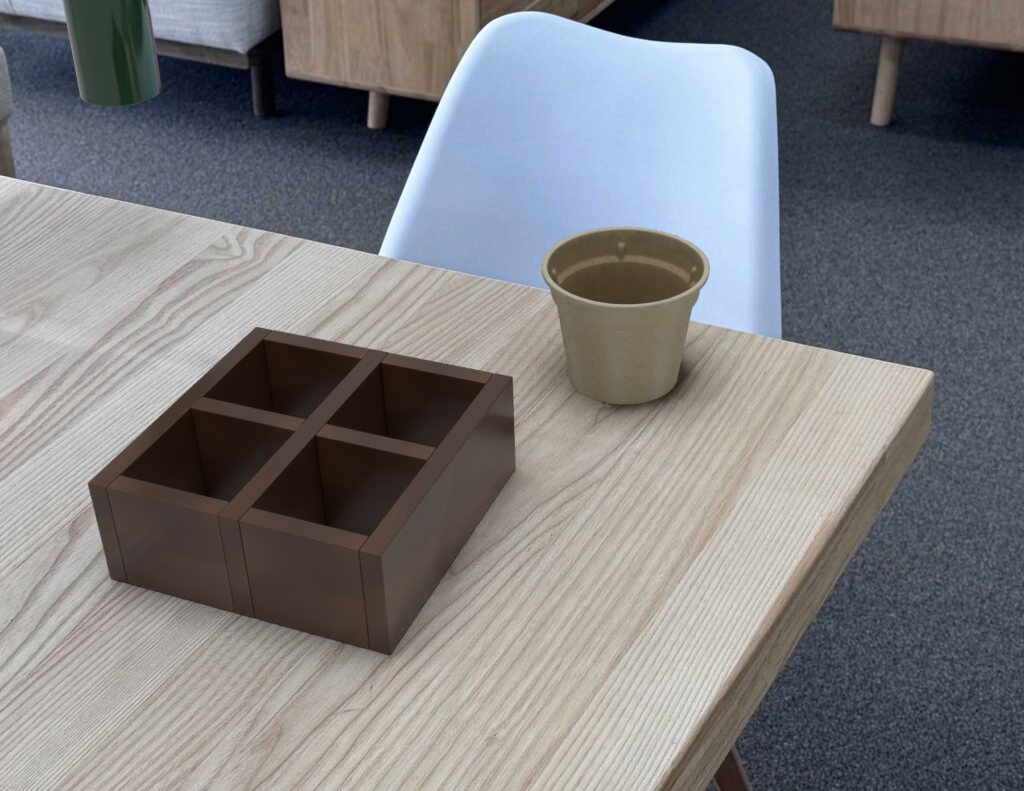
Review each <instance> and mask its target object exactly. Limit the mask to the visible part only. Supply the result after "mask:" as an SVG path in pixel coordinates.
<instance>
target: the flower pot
mask: <svg viewBox="0 0 1024 791" xmlns="http://www.w3.org/2000/svg"><path fill="white" fill-rule="evenodd" d="M540 270H541V271H540V272H541V276H542V279H543V281H544V283H545V284H546V285H547V287H549V290H550V296H551V298H552V300H553V302H554V304H555V305H556V308H557V313H558V319H559V325H560V332H561V336H562V338H561V339H562V343H563V348H564V355H565V362H566V367H567V374H568V375H567V376H568V380H569V383H570V385H571V386H572V387H573V388H574V389H575V390H576V391H577V392H578V393H580V394H581V395H583V396H585V397H587V398H589V399H592V400H595V401H596V402H597V401H598V402H602V403H604V404H605V403H607V404H611V405H636V404H643V403H648V402H652V401H654V400H657V399H659V398H661V397H664V396H666V395H667V394H668V393H669V392H670V391H671V390H673V389H674V387H675V386H676V384H677V382H678V378H679V373H680V367H681V362H682V358H683V354H684V349H685V344H686V338H687V334H688V331H689V324H690V322H691V321H690V320H691V316H692V312H693V307H695V305H696V304H697V302H698V300H699V297H700V292H701V290H702V289H703V288H704V287H705V285H706V284H707V282H708V280H709V277H710V273H711V272H710V271H711V266H710V261H709V258H708V257H707V255H706V254H705V252H704V251H703V250H702V249H701V248H700V247H699V246H698V245H695V244H694V243H693V242H691V241H690V240H687V239H686V238H683V237H681V236H679V235H677V234H673V233H670V232H666V231H663V230H657V229H652V228H646V227H638V226H612V227H611V226H609V227H600V228H594V229H590V230H584V231H581V232H578V233H575V234H572V235H569V236H567V237H565V238H563V239H562V240H560V241H558V242H556V243H555V244H554V245H553V246H552V247H551V248H550V249H549V250H548V251H547V252H546V253H545V254H544V256H543V258H542V261H541V269H540Z"/></svg>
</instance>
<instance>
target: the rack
mask: <svg viewBox="0 0 1024 791" xmlns="http://www.w3.org/2000/svg"><path fill="white" fill-rule="evenodd" d="M515 434H516V433H515V402H514V376H512V375H506V374H502V373H496V372H495V373H494V372H491V371H486V370H481V369H475V368H470V367H465V366H461V365H455V364H450V363H445V362H440V361H435V360H431V359H430V360H429V359H425V358H420V357H414V356H409V355H404V354H399V353H395V352H394V353H393V352H389V351H384V350H381V349H374V348H368V347H363V346H358V345H353V344H348V343H342V342H338V341H332V340H327V339H322V338H317V337H312V336H308V335H302V334H296V333H291V332H286V331H281V330H276V329H271V328H265V327H261V326H255V327H254V328H253V329H252V330H251V331H249V333H247V335H245V336H244V337H243V338H242V339H240V341H239V342H238V343H237V344H235V345H234V346H233V347H232V349H230V350H229V351H228V352H227V353H226V354H224V356H223V357H222V358H221V359H219V361H217V362H216V363H215V364H214V365H213V366H212V367H210V368H209V370H207V371H206V372H205V374H203V375H202V376H201V377H200V378H199V379H198V380H197V381H196V382H195V383H193V384H192V385H191V386H190V387H189V388H188V389H187V390H186V391H184V393H183V394H181V395H180V397H178V398H177V400H175V401H174V402H173V403H172V404H171V405H170V406H169V407H168V408H166V410H164V411H163V412H162V413H161V414H160V415H159V416H157V418H156V419H155V420H154V421H153V422H152V423H150V425H148V426H147V427H146V428H145V429H144V430H143V431H142V432H141V433H140V434H139V435H137V436H136V438H134V439H133V440H132V441H131V442H130V443H129V444H128V445H127V446H126V447H125V448H124V449H122V450H121V451H120V452H119V453H118V454H117V455H116V456H115V457H114V458H113V459H112V460H110V461H109V462H108V463H107V465H105V466H104V467H103V468H102V469H101V470H100V471H99V472H98V473H97V474H95V476H93V477H92V478H91V479H90V480H89V481H88V482H87V488H88V490H89V495H90V499H91V503H92V504H91V505H92V509H93V511H94V512H93V513H94V516H95V521H96V525H97V528H98V532H99V537H100V540H101V545H102V549H103V553H104V558H105V561H106V566H107V570H108V574H109V578H110V579H113V580H115V581H119V582H123V583H128V584H131V585H134V586H137V587H141V588H145V589H147V590H152V591H155V592H159V593H163V594H167V595H171V596H174V597H178V598H181V599H185V600H189V601H193V602H196V603H200V604H202V605H207V606H211V607H214V608H218V609H221V610H225V611H229V612H233V613H235V614H240V615H243V616H247V617H250V618H254V619H255V618H256V619H258V620H262V621H266V622H270V623H273V624H277V625H280V626H284V627H288V628H291V629H295V630H298V631H302V632H305V633H310V634H312V635H317V636H321V637H324V638H328V639H332V640H334V641H339V642H342V643H346V644H350V645H354V646H357V647H361V648H364V649H370V650H372V651H375V652H379V653H383V654H386V655H392V653H393V651H394V650H395V648H396V647H397V645H398V644H399V642H400V641H401V640H402V638H403V636H404V635H405V633H406V632H407V630H408V629H409V628H410V626H411V624H412V623H413V622H414V620H415V619H416V617H417V616H418V614H419V613H420V611H421V610H422V608H423V607H424V605H425V604H426V602H427V600H429V597H430V596H431V595H432V593H433V592H434V590H435V589H436V587H437V586H438V585H439V583H440V581H441V580H442V579H443V577H444V575H445V574H446V572H447V571H448V570H449V568H450V566H451V565H452V563H453V562H454V561H455V559H456V558H457V556H458V554H459V553H460V552H461V550H462V549H463V547H464V545H466V543H467V541H468V540H469V538H470V537H471V535H472V534H473V532H474V530H475V529H476V528H477V527H478V525H479V523H480V522H481V520H482V519H483V517H484V516H485V514H486V513H487V511H488V510H489V508H490V507H491V506H492V504H493V503H494V501H495V499H496V498H497V496H498V495H499V493H500V492H501V490H502V489H503V487H504V486H505V485H506V483H507V481H508V480H509V478H510V477H511V475H512V474H513V473H514V471H515V470H516V467H517V466H516V465H517V463H516V437H515V436H516V435H515Z"/></svg>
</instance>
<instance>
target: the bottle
mask: <svg viewBox="0 0 1024 791" xmlns="http://www.w3.org/2000/svg"><path fill="white" fill-rule="evenodd" d="M61 1H62V6H63V11H64V16H65V23H66V27H67V34H68V38H69V44H70V48H71V54H72V60H73V65H74V70H75V76H76V80H77V85H78V91H79V96H80V99H81V100H82V101H83V102H84V103H86V104H89V105H92V106H96V107H97V106H98V107H105V108H106V107H108V108H112V107H113V108H117V107H118V108H119V107H127V106H132V105H138V104H142V103H144V102H147V101H150V100H152V99H154V98H156V97H157V96H158V95H160V94H161V92H162V91H163V86H162V79H161V72H160V66H159V60H158V53H157V45H156V38H155V34H154V26H153V20H152V15H151V7H150V1H149V0H61Z"/></svg>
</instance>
